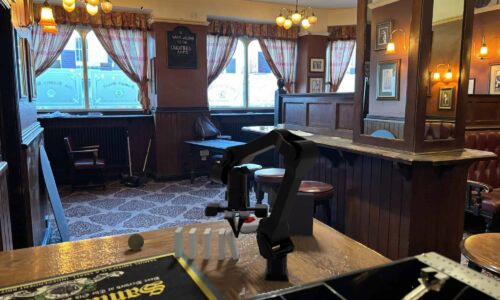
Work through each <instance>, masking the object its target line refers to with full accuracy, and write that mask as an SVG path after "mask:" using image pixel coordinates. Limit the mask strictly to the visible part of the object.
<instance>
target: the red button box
mask: <svg viewBox="0 0 500 300" xmlns="http://www.w3.org/2000/svg"><path fill="white" fill-rule="evenodd" d="M238 219H239V216H238V217H236V227H238ZM260 219H261V218H257V217H256V218H255V217H254V216H251V215H249V219H248V220H245V221H244V223H243V225H242V227H241V230H240V232H241V233H253V232H254V231H255V232H257V231H256V229H257V228H258V225H259V221H260Z"/></svg>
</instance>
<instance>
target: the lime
mask: <svg viewBox="0 0 500 300" xmlns="http://www.w3.org/2000/svg"><path fill="white" fill-rule="evenodd" d="M144 243H145V239H144V236H142V235H141V234H139V233H133V234H131V235H130V236H129V237H128V240H127V246H128V248H129V249H130V250H132V251H140V249H142V248H143V246H144V245H145V244H144Z"/></svg>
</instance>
